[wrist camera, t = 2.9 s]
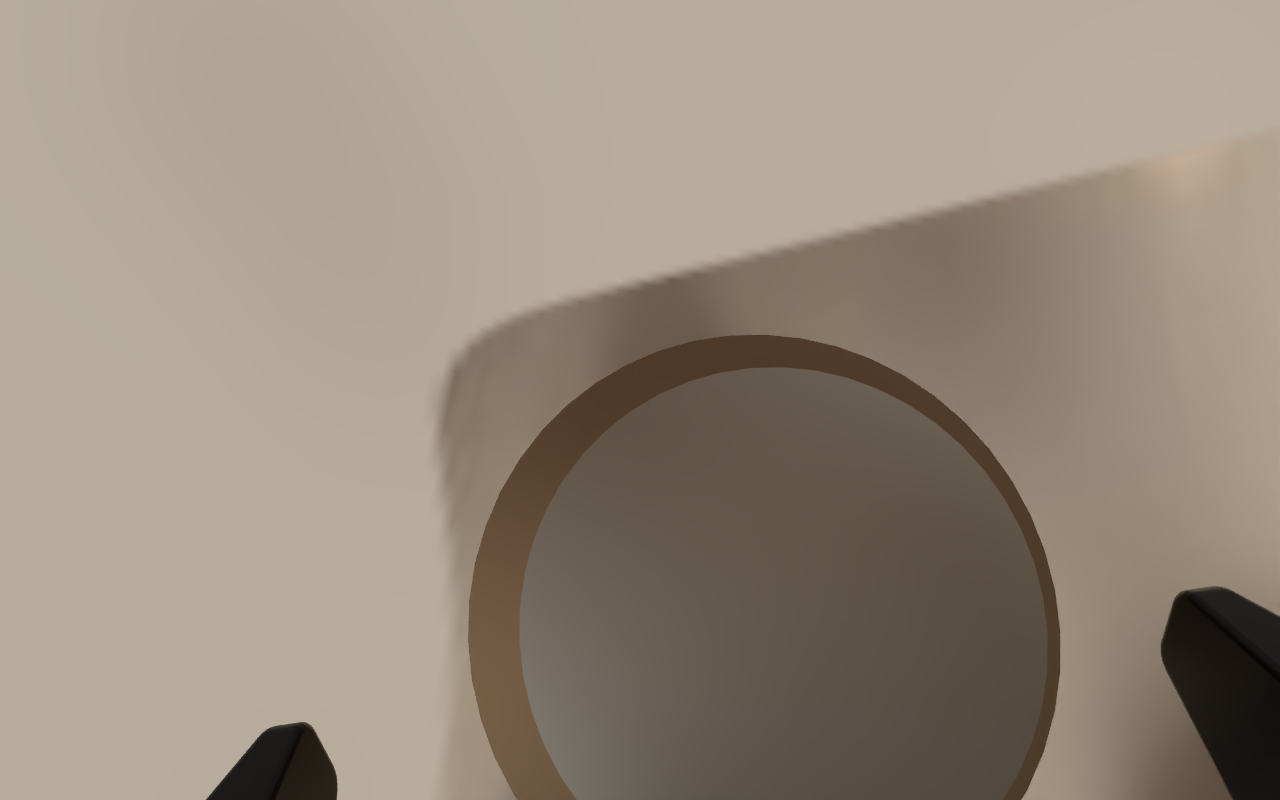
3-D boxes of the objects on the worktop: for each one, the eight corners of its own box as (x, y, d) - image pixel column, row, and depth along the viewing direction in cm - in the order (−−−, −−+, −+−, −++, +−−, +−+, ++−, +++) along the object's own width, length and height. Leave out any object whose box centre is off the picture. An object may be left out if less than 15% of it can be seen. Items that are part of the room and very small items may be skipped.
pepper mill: (779, 749, 17) (1069, 1162, 4) (567, 675, 17) (313, 870, 5) (836, 532, 17) (1208, 390, 5) (634, 469, 18) (557, 206, 6)
